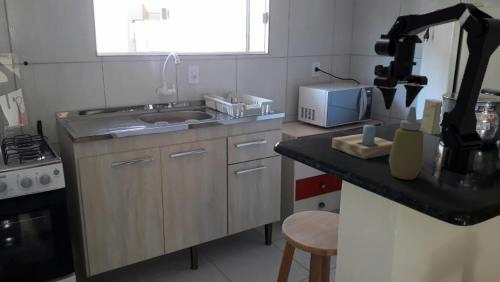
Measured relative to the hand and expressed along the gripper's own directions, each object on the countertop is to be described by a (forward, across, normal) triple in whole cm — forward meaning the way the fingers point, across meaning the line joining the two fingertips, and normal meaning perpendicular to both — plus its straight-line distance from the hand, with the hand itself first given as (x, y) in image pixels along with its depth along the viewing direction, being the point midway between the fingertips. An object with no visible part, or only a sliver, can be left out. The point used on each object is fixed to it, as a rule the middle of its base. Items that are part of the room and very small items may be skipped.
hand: (397, 108), depth 131 cm
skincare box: (+13, -29, -7) cm, 32 cm away
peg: (+12, +14, +2) cm, 19 cm away
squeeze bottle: (+13, +21, +21) cm, 32 cm away
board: (+12, +12, -1) cm, 17 cm away
